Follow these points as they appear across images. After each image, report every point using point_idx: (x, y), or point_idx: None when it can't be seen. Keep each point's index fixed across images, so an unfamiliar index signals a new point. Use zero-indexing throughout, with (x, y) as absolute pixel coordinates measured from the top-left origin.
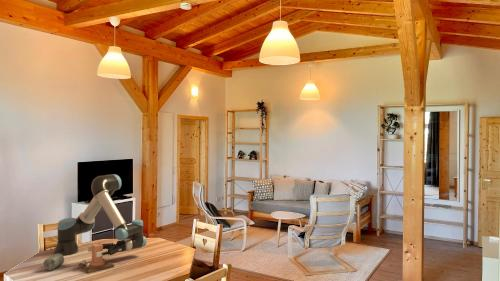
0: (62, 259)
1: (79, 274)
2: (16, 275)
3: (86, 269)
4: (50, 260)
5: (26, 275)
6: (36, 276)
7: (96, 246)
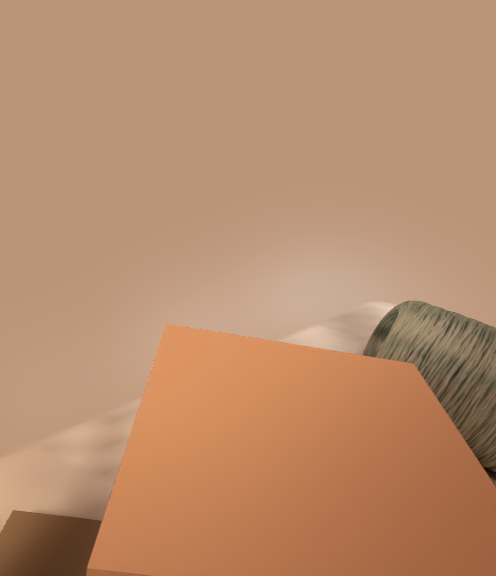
0: (462, 403)
1: (95, 465)
2: (375, 310)
3: (96, 522)
4: (390, 312)
5: (350, 321)
6: (302, 330)
7: (158, 352)
